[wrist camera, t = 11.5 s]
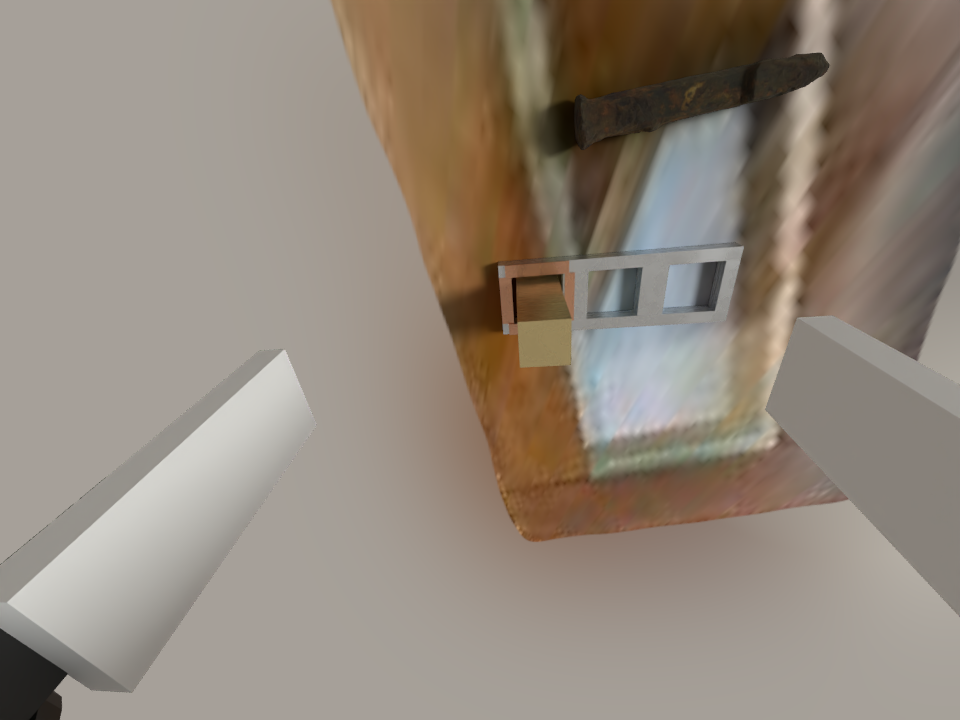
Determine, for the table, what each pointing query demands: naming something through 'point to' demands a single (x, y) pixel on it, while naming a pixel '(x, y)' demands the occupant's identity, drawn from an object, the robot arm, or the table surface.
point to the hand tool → (691, 96)
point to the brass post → (542, 322)
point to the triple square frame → (646, 291)
